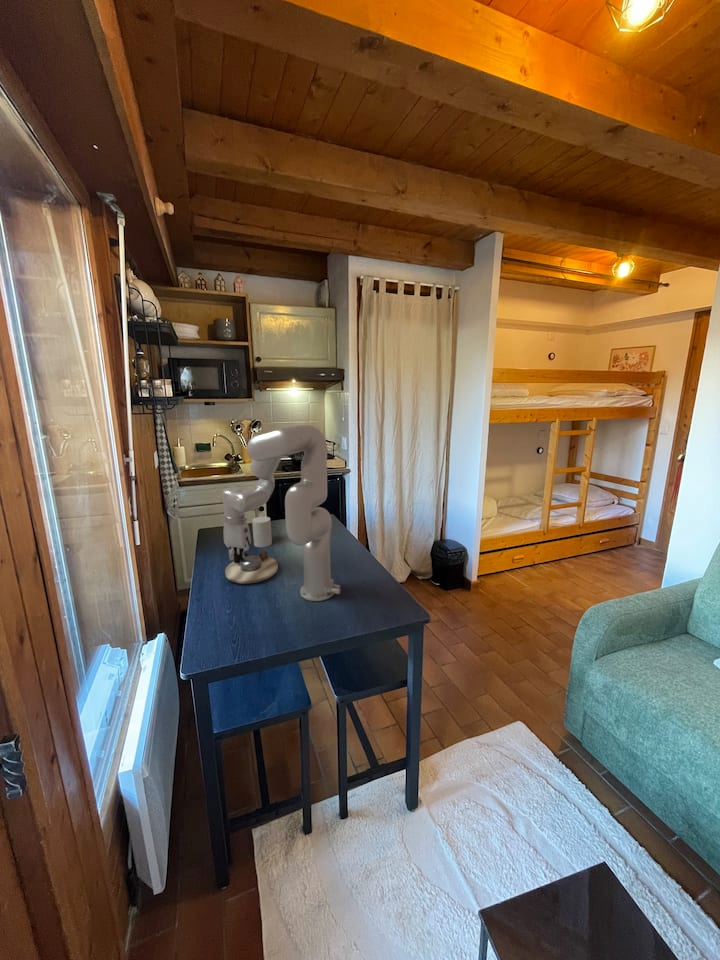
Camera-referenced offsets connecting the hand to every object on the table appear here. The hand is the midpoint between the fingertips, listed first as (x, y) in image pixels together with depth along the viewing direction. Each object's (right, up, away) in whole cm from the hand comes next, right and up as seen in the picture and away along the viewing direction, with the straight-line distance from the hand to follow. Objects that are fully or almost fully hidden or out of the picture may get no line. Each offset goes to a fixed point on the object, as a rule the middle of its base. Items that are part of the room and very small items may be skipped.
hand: (238, 561), depth 152 cm
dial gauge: (-5, 0, +12) cm, 13 cm away
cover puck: (+6, -2, -2) cm, 6 cm away
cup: (+3, +3, +26) cm, 26 cm away
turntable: (+6, -3, -2) cm, 7 cm away
